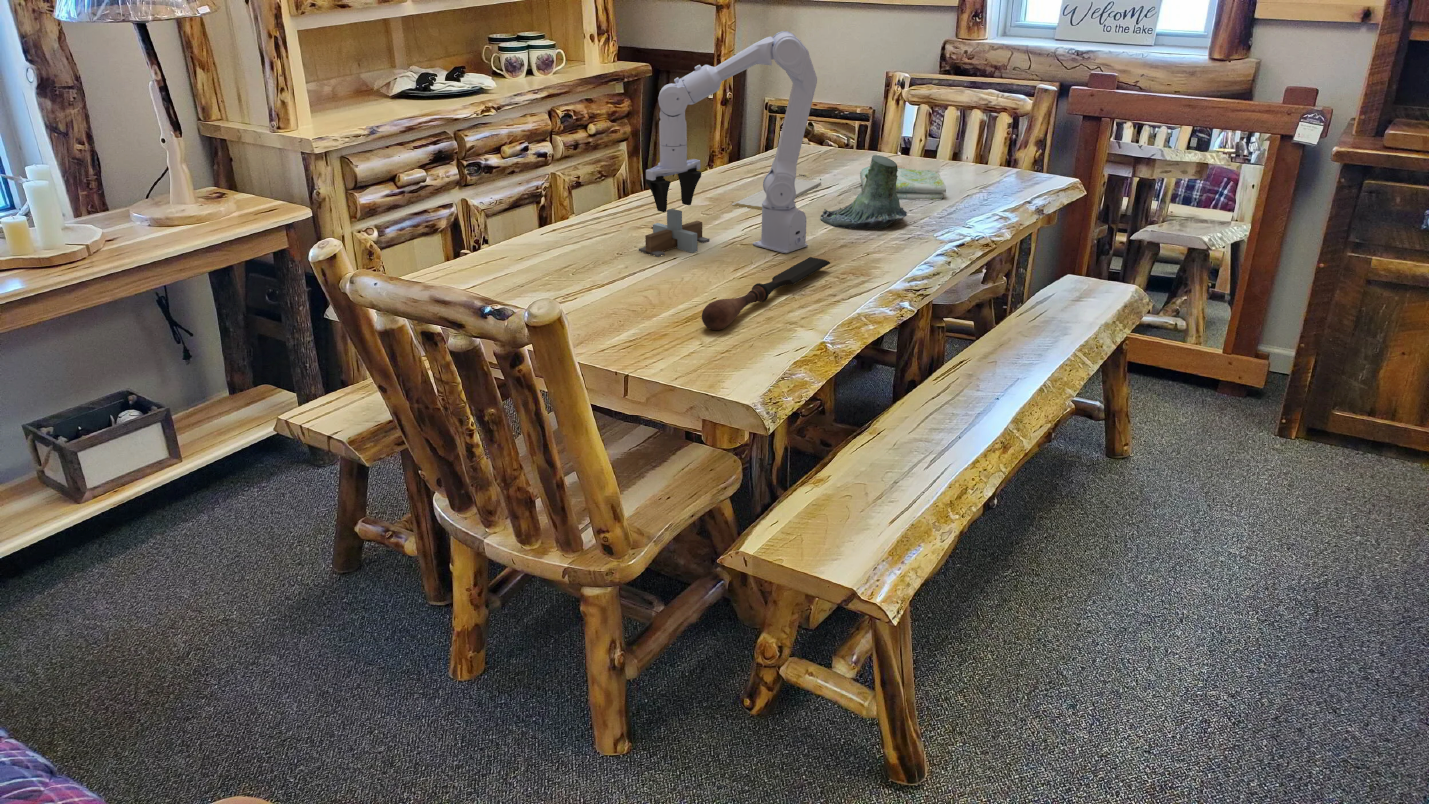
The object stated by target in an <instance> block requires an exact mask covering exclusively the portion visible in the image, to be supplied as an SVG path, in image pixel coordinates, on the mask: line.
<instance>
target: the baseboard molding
mask: <svg viewBox="0 0 1429 804" xmlns="http://www.w3.org/2000/svg"><path fill="white" fill-rule="evenodd" d="M798 177H799V178H800V177H801V178H802V177H804V178H807V179H809V177H808V176H807V175H806V174H799V175H798ZM799 178H796V179H795V189H796V197H795V199H796V198H798V197H799V196H802V195H804V194H806V193H808V192H810V191H813V190H814V189H817V188H818V187H820V186H821V185H822V182H821V181H822V178H820V177H819V180H820V181H815V180H816V178H814V177H813V179H814V180H805V179H799ZM765 199H766V193H765V191H764V189H761V190H760V191H758V192H756V193H753V194H750V195H749V196H747V197H744V198H742V199H740V200H737V201H735V202H733V203H730V206H731V205H732V206H731V207H737V206H739V207H738V208H743V207H747V208H746V209H750V210H757V211H762V202H763V201H764V200H765Z"/></svg>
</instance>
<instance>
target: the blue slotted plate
mask: <svg viewBox="0 0 1429 804" xmlns="http://www.w3.org/2000/svg"><path fill="white" fill-rule="evenodd" d="M682 225H683V211H682V210H679V209H675V208H669V209H667V210H666V224H663V223H661V222H656V223H652V233H655V232H659V231H662V230H666V229H667V230H671V231H672V238H674V239H677V243H678V247H677V250H681V251H684V252H687V253H691V254H693V253H696V251H697V252H698V242H697V233H694V232H691V231H687V230H683V229H682Z"/></svg>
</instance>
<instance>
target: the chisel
mask: <svg viewBox="0 0 1429 804" xmlns="http://www.w3.org/2000/svg"><path fill="white" fill-rule="evenodd" d="M830 264H831V261H828V259H827V260H826V259H825V258H824V259H823V258H818V257H817V258H816V257H812V256H810V257H807V258H805V259H804V260H802V261H800V262H798V263H797V264H794V265H793V266H791V267H789V268H787V269H786V270H783V271H781V272H779V273H778V274H776V275H775V276H773V277H772V278H771V281H770V282H766V283H760V282H757V283H755V284H754V285H753V286H752V287H751V290H749V291H748V293H746V294H745V295H743V296H739V297H735V298H722V299H716V300H714V301H712V302H711V301H710V302H709V303H708V304H707V305H705V307H704V308H703V310H702V313H701V321H702V323H703V325H704V326H705V327H706V328H708V329H709V330H712V331H720V330H723V329H725V328H727V327H728V326H730V325H731V324H732V323H733V322H734V320H735V319H736V318H737V317H738V315H739V314H740V313H741V312H742V310H744V308H746V307H747V306H748V305H750V304H752V303H765V302H766V301H767V300H768V298H769V295H770V294H772V293H773V292H774V291H775V290H776V289H779V288H781V287H784V286H793V285H795V284H797V283H798V282H800V281H802V280H804V279H806V278H808V277H809V276H811V275H813V274H814V273H817V272H818V271H820V270H822V269H823V268H825V267H827V266H829V265H830Z"/></svg>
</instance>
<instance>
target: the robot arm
mask: <svg viewBox="0 0 1429 804" xmlns="http://www.w3.org/2000/svg"><path fill="white" fill-rule="evenodd" d="M772 60H774V62H775V63H776V65H778V66H779V67H780V68H781V69H782V70H784V71H785V73H786V74H787V76H788V78H789V79H790V81H791V83H792V84H791V85H792V86H791V90H790V94H789V97H788V103H787V107H786V110H785V114H784V119H783V122H782V123H783V124H782V128H781V131H780V135H779V140H778V143H777V148H776V149H777V150H776V153H775V156H774V159H773V161H772V163H771V166H770V167H771V168H770V169H769V171H768V173H767V174H766V175H765V177H764V179H763V182H762V188H763V190H764V191H765V193H766V199H765V200H764V201H763V202H762V210H761V233H760V234H761V235H760V236H761V237H760V238H761V239H760V240H758V241H754V242H752V245H753V246H756V247H759V248H763V249H767V250H771V251H774V252H778V253H780V254H781V253H782V254H788V253H793V252H794V251H796V250H800V249H803V248H806V247H808V246H809V245H808V243H806V240H807V239H806V238H807V215H806V213H805V212H804V211H802V210H801V209H799V208H797V205H796V201H795V200H796V198H797V197H796V189H795V179H797V166H798V161H799V156H800V152H801V148H802V145H803V140H804V137H805V133H806V128H807V124H808V120H809V116H810V111H811V108H812V105H813V99H814V96H815V91H816V87H817V84H818V76H817V74H816V71H815V68H814V64H813V62H812V59H811V56H810V52H809V49H807V47H806V45H804V44H803V42H802V41H801V40H800V38H798V37H797V36H796V35H795V34H794V33H792V32H790V31H787V30H783V31H779V32H777V33H775V34H774V35H773V36H767V37H765V38H763V39H760V40H759V41H757V42H754V43H752V44H751V45H749V46H748V47H746V48H744V49H742V50H741V51H739V52H737V53H736V54H734V55H732V56H731V57H729V58H727V59H726V60H725V61H722V62H721V63H719V64H717V65H716V66H711V65H710V64H704V65H703V66H701V64H698V65H696V66H694V70H693V71H692V72H690V73H688V74H686V75H684V76H682V77H681V78H679V77H676V78H674V80H673V82H674V83H668V84H665V85H663V86H662V88H661V90H660V91H659V94H658V97H657V99H658V106H659V109H660V112H659V119H660V120H659V122H658V126H659V130H658V131H659V132H658V133H659V162H658V163H657V165H655V166H653V167H651V168H649V169H645V183H646V184H647V186H648V188H649V190H650V191H651V193H652V197H653V200H654V203H655V207H656V210H657V211H658V212H662V213H667V210H668V194H669V189H670V184H671V181H670V180H666V178H665V177H669V176H672V175H673V176H674V175H676V174H677V176H678V180H679V184H680V186H679V187H680V196H681V197H680V198H681V203H682V205H684V206H692V203H693V202H692V201H693V199H694V193H695V190H696V188H697V185H698V183H699V181H700V179H701V178H702V172H701V171H700V170H701V159H696V158H692V159H688V138H687V137H688V134H687V133H688V132H687V131H688V129H687V127H688V126H687V125H688V124H687V120H686V109H687V107H688V105H695V104H697V103H698V102H700V101H702V100H704V99H706V98H708V97H709V96H712V95H714V94H715V93H717V92H718V91H719V90H720V88H721V85H722V83H723V81H726V80H727V79H730V78H731V77H733V76H735V75H737V74H739V73H742V72H744V71H745V70H748V69H749V68H752V67H753V66H756V65H762V66H763V65H764V66H773V63H772ZM795 197H796V198H795Z"/></svg>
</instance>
